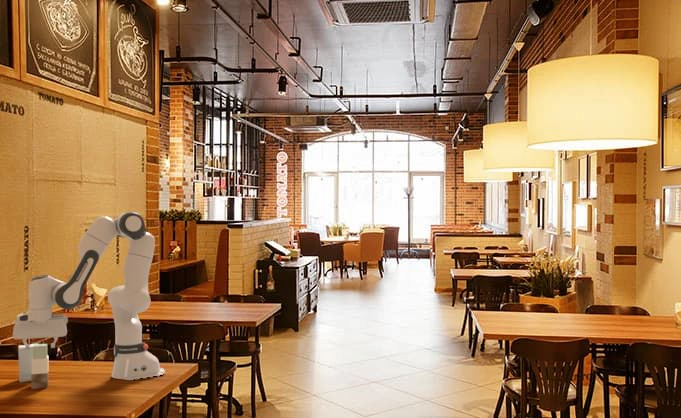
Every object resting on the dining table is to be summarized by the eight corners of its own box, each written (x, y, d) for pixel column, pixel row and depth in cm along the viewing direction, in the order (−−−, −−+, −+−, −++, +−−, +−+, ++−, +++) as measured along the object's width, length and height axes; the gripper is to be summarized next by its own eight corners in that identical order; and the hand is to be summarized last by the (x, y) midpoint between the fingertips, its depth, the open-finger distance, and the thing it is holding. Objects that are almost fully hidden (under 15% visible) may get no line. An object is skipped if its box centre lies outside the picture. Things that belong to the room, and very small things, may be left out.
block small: (47, 355, 268) (47, 343, 268) (46, 358, 264) (46, 346, 264) (34, 356, 266) (34, 344, 266) (33, 359, 262) (33, 346, 262)
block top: (48, 369, 269) (48, 355, 269) (47, 373, 263) (47, 358, 263) (32, 370, 267) (32, 356, 267) (31, 374, 261) (31, 359, 261)
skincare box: (39, 377, 280) (39, 342, 280) (40, 380, 275) (40, 345, 275) (17, 379, 276) (18, 344, 276) (18, 382, 271) (18, 347, 271)
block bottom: (48, 384, 269) (48, 369, 269) (47, 387, 263) (47, 373, 263) (32, 385, 267) (32, 370, 267) (31, 389, 261) (31, 374, 261)
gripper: (68, 312, 272) (67, 345, 272) (14, 315, 264) (13, 348, 264) (67, 314, 266) (67, 348, 266) (12, 317, 258) (12, 352, 258)
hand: (40, 348), depth 265 cm, fingers open, 8 cm apart
